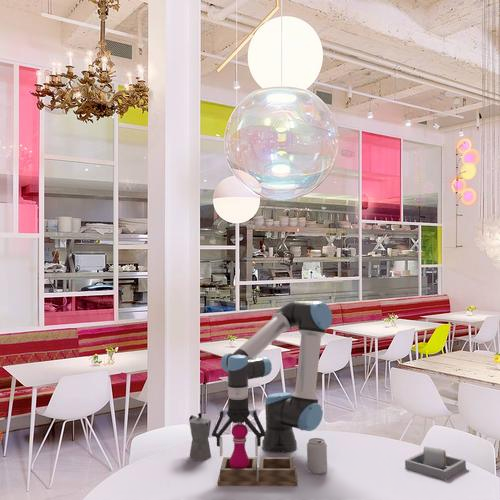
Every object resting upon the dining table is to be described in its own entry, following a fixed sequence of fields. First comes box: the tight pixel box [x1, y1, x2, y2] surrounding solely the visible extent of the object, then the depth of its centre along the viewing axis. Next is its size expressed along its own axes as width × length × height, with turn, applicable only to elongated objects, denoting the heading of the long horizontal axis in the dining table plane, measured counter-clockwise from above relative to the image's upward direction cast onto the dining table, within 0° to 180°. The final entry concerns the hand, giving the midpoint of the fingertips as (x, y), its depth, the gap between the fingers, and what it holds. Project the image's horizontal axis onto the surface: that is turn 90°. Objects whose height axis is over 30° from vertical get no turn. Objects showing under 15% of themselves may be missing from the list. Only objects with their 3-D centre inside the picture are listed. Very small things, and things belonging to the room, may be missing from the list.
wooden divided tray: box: [217, 456, 299, 487], centre depth 196 cm, size 29×14×6 cm, turn 88°
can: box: [306, 437, 328, 475], centre depth 202 cm, size 8×8×12 cm
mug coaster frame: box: [404, 451, 467, 481], centre depth 204 cm, size 16×16×3 cm
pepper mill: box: [230, 422, 249, 469], centre depth 197 cm, size 7×7×20 cm
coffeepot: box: [188, 412, 212, 461], centre depth 221 cm, size 15×9×18 cm, turn 35°
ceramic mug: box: [423, 446, 447, 470], centre depth 206 cm, size 11×8×8 cm
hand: (238, 455), depth 197 cm, fingers open, 13 cm apart
